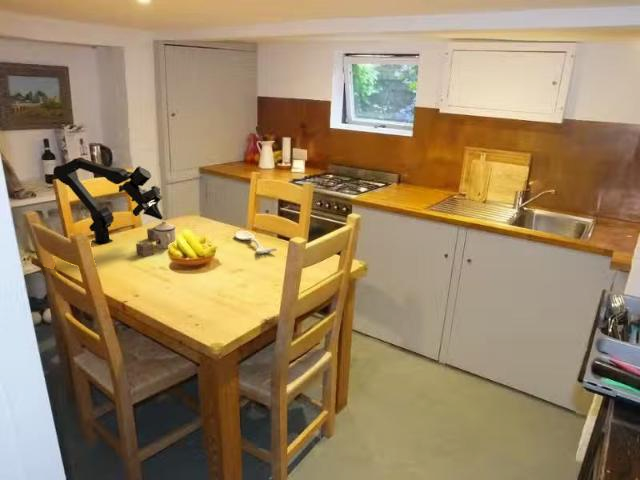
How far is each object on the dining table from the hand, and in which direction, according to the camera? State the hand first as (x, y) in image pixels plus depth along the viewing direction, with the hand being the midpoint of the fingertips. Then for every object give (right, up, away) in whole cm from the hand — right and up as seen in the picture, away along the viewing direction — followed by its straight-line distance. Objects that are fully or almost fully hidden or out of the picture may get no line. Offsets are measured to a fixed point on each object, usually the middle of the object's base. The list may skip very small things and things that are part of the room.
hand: (161, 218), depth 205 cm
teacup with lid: (+1, -13, +4) cm, 13 cm away
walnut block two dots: (-5, -16, -6) cm, 18 cm away
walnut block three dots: (-7, -9, +13) cm, 18 cm away
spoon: (+39, -12, +11) cm, 42 cm away
